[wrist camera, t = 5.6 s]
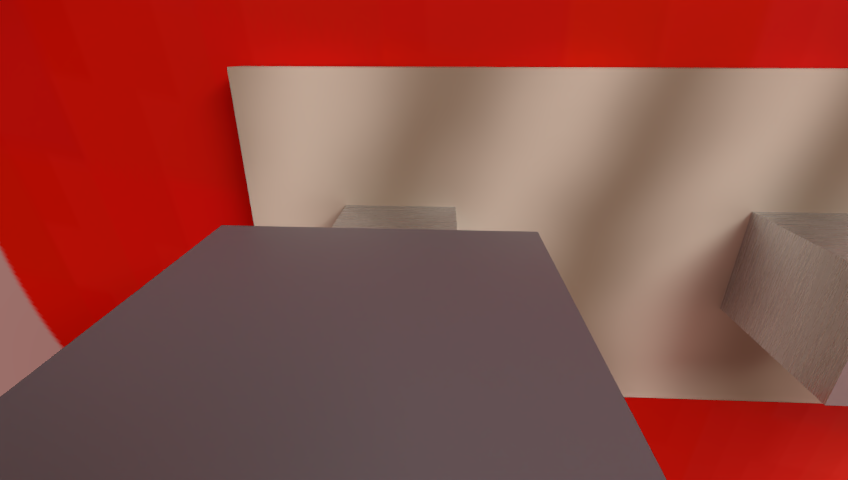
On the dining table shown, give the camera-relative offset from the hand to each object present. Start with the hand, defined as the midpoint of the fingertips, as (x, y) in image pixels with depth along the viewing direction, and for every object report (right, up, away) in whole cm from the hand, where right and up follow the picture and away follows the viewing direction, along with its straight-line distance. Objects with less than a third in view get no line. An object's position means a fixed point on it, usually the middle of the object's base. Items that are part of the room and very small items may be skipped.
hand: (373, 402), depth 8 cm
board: (+7, +3, +7) cm, 10 cm away
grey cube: (+13, +3, +7) cm, 15 cm away
